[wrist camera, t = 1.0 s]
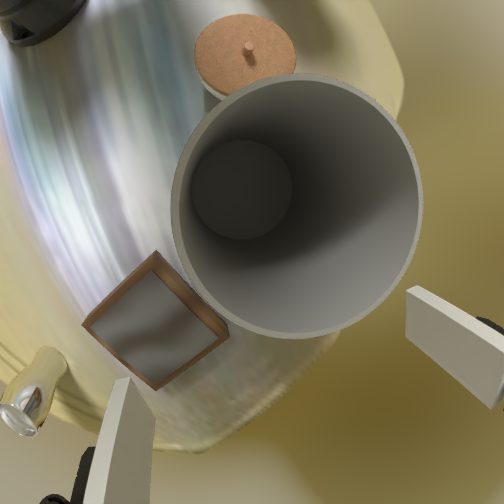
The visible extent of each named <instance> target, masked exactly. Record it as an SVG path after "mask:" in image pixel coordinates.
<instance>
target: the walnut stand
mask: <svg viewBox="0 0 504 504" xmlns="http://www.w3.org/2000/svg"><path fill="white" fill-rule="evenodd" d="M82 326H83V327H84V328H85V329H86V330H87V331H88V332H89V333H90V334H91V335H92V336H93V337H94V338H95V339H96V340H97V341H98V342H99V343H100V344H101V345H102V346H103V347H105V348H106V349H107V350H108V351H109V352H110V353H111V354H112V355H113V356H114V357H115V358H117V359H118V360H119V361H120V362H121V363H122V364H123V365H125V366H126V367H127V368H128V369H129V370H130V371H132V372H133V373H134V374H135V375H136V376H138V377H139V378H140V379H141V380H142V381H144V382H145V383H146V384H147V385H149V386H150V387H151V388H152V389H154V390H155V391H157V390H158V389H160V388H161V387H163V386H164V385H165V384H167V383H168V382H170V381H171V380H172V379H174V378H175V377H177V376H178V375H179V374H181V373H182V372H183V371H185V370H186V369H188V368H189V367H190V366H192V365H193V364H194V363H196V362H197V361H198V360H200V359H201V358H202V357H204V356H205V355H206V354H208V353H209V352H210V351H212V350H213V349H214V348H216V347H217V346H218V345H220V344H221V343H222V342H224V341H225V340H226V339H228V338H229V332H228V327H227V324H226V323H225V322H224V321H223V320H222V319H221V318H220V317H219V316H218V315H217V314H216V313H215V312H214V311H213V310H212V309H211V308H210V307H209V306H208V305H207V304H206V303H205V302H204V301H203V300H202V298H201V297H200V296H199V295H198V294H197V293H196V292H195V291H194V290H193V289H192V288H191V287H190V286H189V285H188V284H187V283H186V282H185V281H184V280H183V279H182V277H181V276H180V275H179V274H178V273H177V272H176V271H175V270H174V269H173V268H172V267H171V266H170V264H169V263H168V262H167V261H166V260H165V259H164V258H163V257H162V256H161V255H160V253H159V252H158V251H157V250H156V251H155V252H154V253H153V254H151V255H150V256H149V257H148V258H147V259H146V260H145V261H144V262H143V263H142V264H141V265H139V266H138V267H137V268H136V269H135V270H134V271H133V272H132V273H131V274H130V275H129V276H128V277H127V278H126V279H124V280H123V281H122V282H121V283H120V284H119V285H118V286H117V287H116V288H115V289H114V290H113V291H112V292H111V293H110V294H109V295H108V296H107V297H106V298H105V299H104V300H103V301H102V302H101V303H100V304H99V305H98V306H97V307H96V308H95V309H94V310H93V311H92V312H91V313H90V314H89V315H88V316H87V318H86V319H85V321H84V322H83V323H82Z"/></svg>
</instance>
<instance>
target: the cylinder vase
mask: <svg viewBox="0 0 504 504" xmlns="http://www.w3.org/2000/svg"><path fill="white" fill-rule="evenodd" d="M422 217H423V190H422V183H421V177H420V172H419V168H418V164H417V161H416V158H415V155H414V153H413V150H412V148H411V146H410V144H409V142H408V140H407V138H406V136H405V134H404V133H403V131H402V130H401V128H400V127H399V126H398V124H397V123H396V121H395V120H394V119H393V118H392V116H391V115H390V114H389V113H388V112H387V111H386V110H385V109H384V108H383V107H382V106H381V105H380V104H379V103H378V102H376V101H375V100H374V99H373V98H371V97H370V96H369V95H367V94H366V93H364V92H363V91H361V90H359V89H357V88H356V87H354V86H352V85H350V84H347V83H345V82H342V81H340V80H337V79H334V78H330V77H326V76H322V75H316V74H305V73H293V74H282V75H276V76H272V77H268V78H264V79H261V80H258V81H255V82H253V83H250V84H248V85H246V86H244V87H242V88H240V89H238V90H237V91H235V92H233V93H232V94H230V95H229V96H227V97H226V98H225V99H223V100H222V101H221V102H220V103H218V104H217V105H216V106H215V107H214V108H213V109H212V110H211V111H210V112H209V113H208V114H207V115H206V116H205V117H204V119H203V120H202V121H201V122H200V123H199V125H198V126H197V127H196V129H195V130H194V132H193V133H192V135H191V137H190V138H189V140H188V142H187V144H186V146H185V148H184V150H183V152H182V155H181V157H180V160H179V162H178V165H177V169H176V172H175V176H174V181H173V186H172V193H171V225H172V232H173V237H174V242H175V246H176V249H177V252H178V255H179V258H180V260H181V263H182V265H183V267H184V269H185V271H186V273H187V275H188V277H189V279H190V280H191V282H192V284H193V285H194V286H195V288H196V289H197V291H198V292H199V293H200V294H201V296H202V297H203V298H204V299H205V300H206V301H207V302H208V303H209V304H210V305H211V306H212V307H213V308H214V309H215V310H216V311H217V312H219V313H220V314H221V315H222V316H224V317H225V318H227V319H228V320H230V321H231V322H233V323H235V324H236V325H238V326H240V327H242V328H244V329H247V330H249V331H252V332H254V333H257V334H261V335H264V336H268V337H274V338H281V339H307V338H314V337H319V336H323V335H327V334H330V333H333V332H336V331H339V330H341V329H344V328H346V327H348V326H350V325H352V324H354V323H355V322H357V321H359V320H360V319H362V318H363V317H365V316H366V315H368V314H369V313H370V312H372V311H373V310H374V309H375V308H376V307H377V306H379V305H380V303H382V302H383V301H384V300H385V299H386V298H387V296H388V295H389V294H390V293H391V292H392V291H393V289H394V288H395V287H396V285H397V284H398V282H399V281H400V279H401V278H402V276H403V275H404V273H405V271H406V270H407V268H408V266H409V263H410V261H411V259H412V257H413V254H414V252H415V249H416V246H417V243H418V239H419V235H420V231H421V225H422Z"/></svg>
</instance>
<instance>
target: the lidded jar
mask: <svg viewBox="0 0 504 504" xmlns="http://www.w3.org/2000/svg"><path fill="white" fill-rule="evenodd" d="M195 64H196V68H197V73H198V75H199V78H200V80H201V82H202V84H203V85H204V87H205V88H206V89H207V90H208V91H209V92H210V93H211V94H212V95H214V96H215V97H217V98H218V99H220V100H223V99H225V98H226V97H227V96H229V95H230V94H232V93H233V92H235V91H237V90H238V89H240V88H242V87H244V86H246V85H248V84H250V83H253V82H255V81H258V80H261V79H264V78H268V77H272V76H276V75H282V74H293V72H294V70H295V66H296V52H295V49H294V45H293V43H292V41H291V39H290V38H289V36H288V35H287V34H286V33H285V32H284V31H283V29H281V28H280V27H279V26H278V25H276V24H275V23H273V22H271V21H270V20H267V19H265V18H263V17H259V16H255V15H249V14H237V15H230V16H226V17H223V18H221V19H218V20H216V21H215V22H213V23H211V24H210V25H209V26H208V27H206V29H205V30H204V31H203V32H202V33H201V35H200V36H199V38H198V40H197V43H196V46H195Z"/></svg>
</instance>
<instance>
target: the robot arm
mask: <svg viewBox="0 0 504 504" xmlns="http://www.w3.org/2000/svg"><path fill="white" fill-rule="evenodd" d="M84 1H85V0H0V28H1V30H2V33H3V35H4V36H5V38H6V39H7V40H9V41H10V42H11V43H13V44H15V45H17V46H31V45H34V44H37V43H39V42H42V41H44V40H46V39H47V38H49V37H51V36H52V35H54V34H55V33H56V32H58V31H59V30H60V29H62V28H63V27H64V26H65V25H66V24H67V23H68V22H69V21H70V20H71V19H72V18H73V17H74V16H75V15H76V13H77V12H78V11H79V10H80V8H81V7H82V5H83V3H84ZM406 338H408V339H409V340H410V341H411V342H412V343H414V344H415V345H416V346H417V347H419V348H420V349H421V350H422V351H423V352H424V353H426V354H427V355H428V356H429V357H430V358H432V359H433V360H434V361H435V362H436V363H438V364H439V365H440V366H441V367H442V368H444V369H445V370H446V371H447V372H448V373H449V374H451V375H452V376H453V377H454V378H455V379H456V380H458V381H459V382H460V383H461V384H462V385H464V386H465V387H466V388H467V389H468V390H469V391H470V392H471V393H473V394H474V395H475V396H476V397H477V398H478V399H480V400H481V401H482V402H483V403H484V404H485V405H486V406H487V407H489V408H490V409H492V408H493V407H494V406H495V405H496V404H497V403H498V402H500V401H501V400H502V398H503V395H504V329H503V328H502V327H500V326H498V325H496V324H495V323H494V322H492V321H490V320H489V319H485V318H481V317H476V318H474V317H472V316H470V315H469V314H467V313H465V312H464V311H462V310H460V309H459V308H457V307H455V306H453V305H452V304H450V303H448V302H446V301H445V300H443V299H441V298H440V297H437V296H436V295H434V294H432V293H431V292H429V291H427V290H425V289H423V288H422V287H420V286H418V285H417V286H415V287H412V288H410V289H408V290H406ZM503 411H504V410H503ZM154 429H155V417H154V415H153V414H152V412H151V411H150V409H149V408H148V406H147V404H146V403H145V401H144V399H143V398H142V396H141V395H140V393H139V391H138V389H137V388H136V386H135V384H134V383H133V381H132V379H131V377H127V378H122V379H117V380H115V383H114V386H113V389H112V393H111V396H110V399H109V402H108V406H107V409H106V412H105V416H104V419H103V423H102V426H101V430H100V433H99V437H98V441H97V445H96V447H88V448H87V450H86V451H85V452H84V454H83V455H82V457H81V461H80V464H79V469H78V472H77V477H76V479H75V483H74V488H73V492H72V496H71V500H70V502H69V501H67V500H66V499H65V498H64V497H63V496H60V495H58V494H51V495H48V496H46V497H45V498H44V499H43V500H42V501H41V502H40V504H149V501H150V500H149V499H150V480H151V464H152V451H153V439H154Z"/></svg>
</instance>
